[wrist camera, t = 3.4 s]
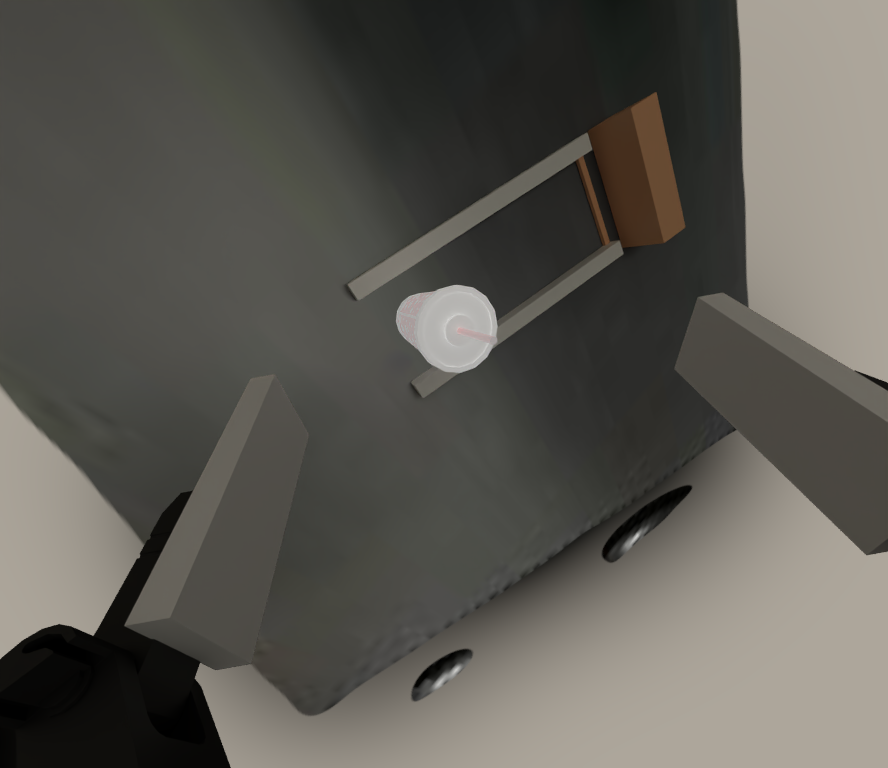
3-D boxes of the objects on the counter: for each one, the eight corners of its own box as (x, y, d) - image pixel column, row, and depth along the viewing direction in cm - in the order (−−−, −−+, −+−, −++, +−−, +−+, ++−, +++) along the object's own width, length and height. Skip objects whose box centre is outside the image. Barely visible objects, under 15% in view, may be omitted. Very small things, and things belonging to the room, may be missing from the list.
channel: (418, 394, 35) (435, 410, 30) (345, 284, 30) (353, 284, 26) (641, 233, 40) (685, 227, 35) (610, 116, 35) (656, 91, 30)
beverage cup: (439, 359, 35) (517, 401, 22) (379, 341, 32) (429, 378, 20) (459, 297, 34) (553, 306, 21) (399, 274, 31) (465, 268, 19)
